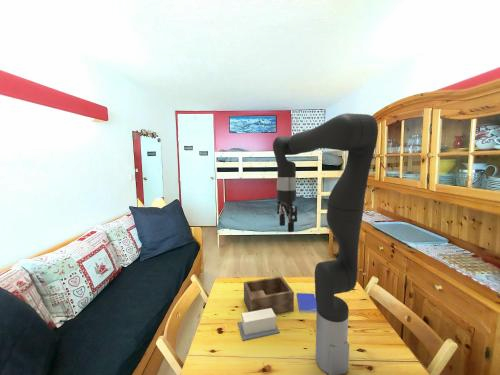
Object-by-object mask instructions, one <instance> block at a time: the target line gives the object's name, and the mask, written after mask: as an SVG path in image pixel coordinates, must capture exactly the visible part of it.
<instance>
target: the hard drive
mask: <svg viewBox="0 0 500 375" xmlns="http://www.w3.org/2000/svg"><path fill="white" fill-rule="evenodd" d="M296 298H297V299H296V300H297V305H298V310H299V313H306V314H307V313H308V314H317V305H316V299H315V293H306V292H304V293H303V292H296Z"/></svg>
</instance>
